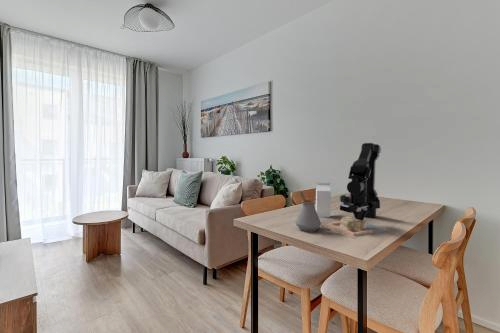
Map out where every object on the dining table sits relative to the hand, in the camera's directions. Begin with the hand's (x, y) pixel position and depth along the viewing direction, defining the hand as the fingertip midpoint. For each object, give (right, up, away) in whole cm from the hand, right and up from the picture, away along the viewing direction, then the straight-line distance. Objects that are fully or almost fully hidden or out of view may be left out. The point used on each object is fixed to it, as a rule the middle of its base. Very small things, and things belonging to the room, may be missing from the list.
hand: (358, 224), depth 113 cm
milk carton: (-10, -1, +22) cm, 24 cm away
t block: (-5, -1, -3) cm, 6 cm away
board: (-1, -2, 0) cm, 2 cm away
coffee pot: (-23, -2, +5) cm, 24 cm away
